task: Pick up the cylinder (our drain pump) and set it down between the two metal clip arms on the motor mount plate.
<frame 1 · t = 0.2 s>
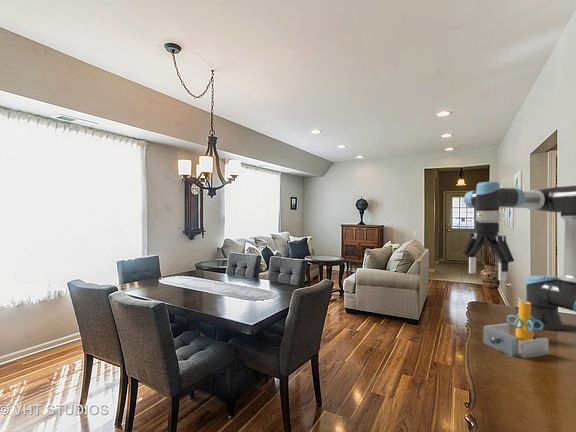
hand: (486, 276, 118), 28 cm above the table, fingers open, 13 cm apart
motor mount: (514, 347, 119), on the table
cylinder: (524, 338, 128), on the table
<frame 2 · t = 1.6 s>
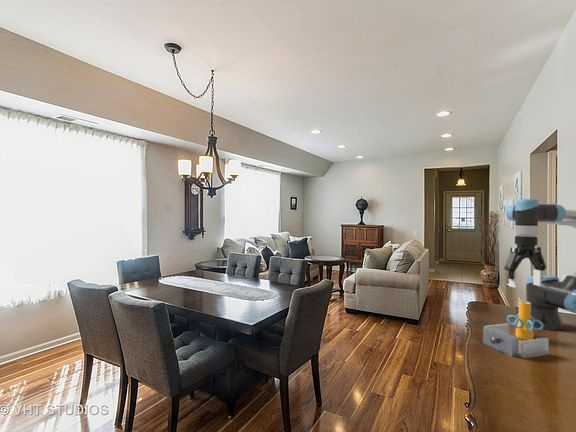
hand: (525, 286, 128), 22 cm above the table, fingers open, 13 cm apart
nothing on the table moved.
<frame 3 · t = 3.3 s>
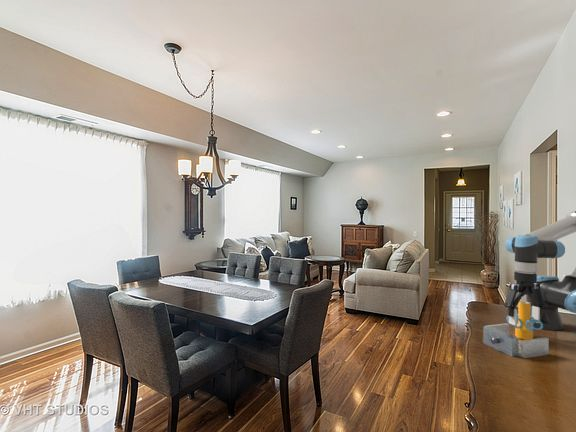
hand: (524, 323, 128), 6 cm above the table, fingers closed on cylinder, 12 cm apart
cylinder: (524, 338, 128), on the table, touching gripper
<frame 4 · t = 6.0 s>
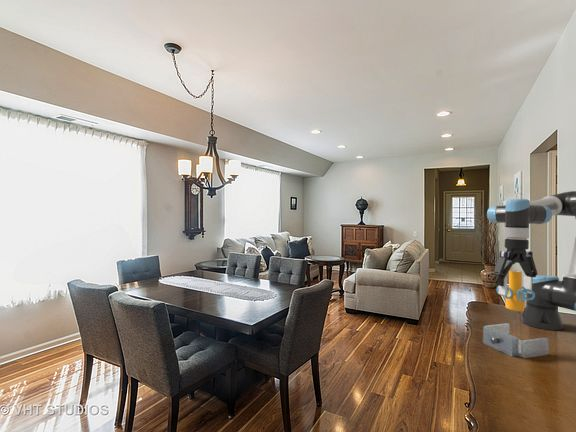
hand: (515, 293, 119), 21 cm above the table, fingers closed on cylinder, 12 cm apart
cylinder: (514, 309, 119), point 15 cm above the table, touching gripper
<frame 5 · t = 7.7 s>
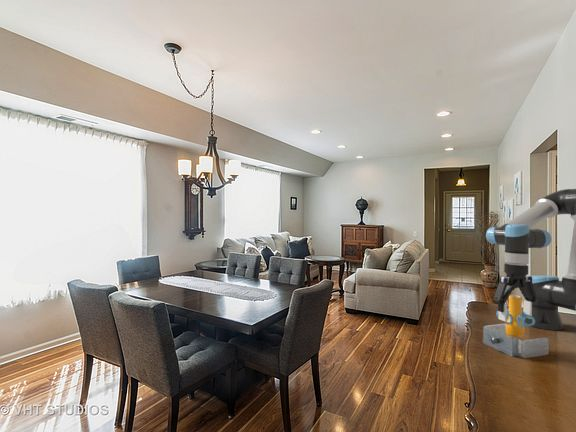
hand: (515, 318, 119), 11 cm above the table, fingers closed on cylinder, 12 cm apart
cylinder: (515, 334, 119), point 5 cm above the table, touching gripper
when the fingers open (9 cm above the table, at t = 8.9 s): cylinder drops 1 cm, resting on motor mount.
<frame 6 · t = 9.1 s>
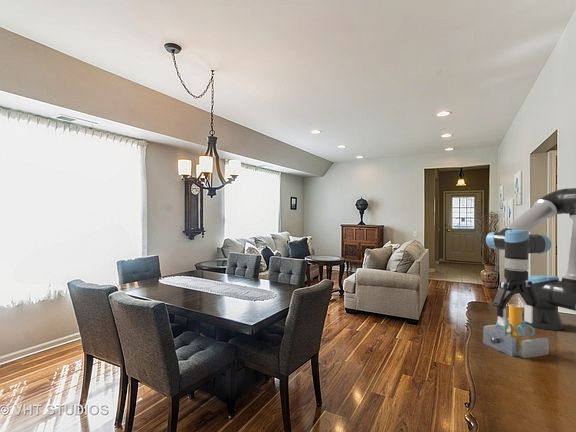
hand: (515, 323, 119), 9 cm above the table, fingers open, 13 cm apart
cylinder: (514, 344, 119), point 1 cm above the table, touching motor mount
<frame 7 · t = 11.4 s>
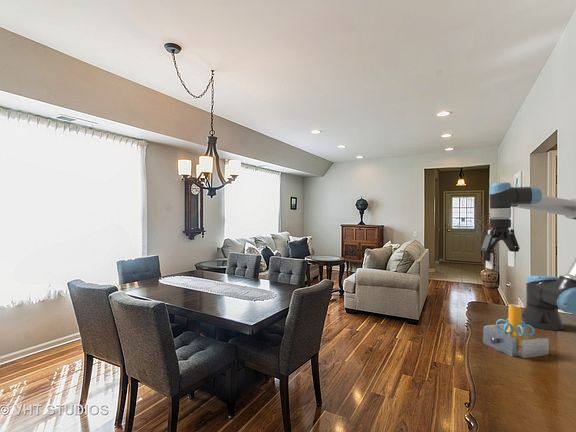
hand: (500, 267, 132), 29 cm above the table, fingers open, 13 cm apart
nothing on the table moved.
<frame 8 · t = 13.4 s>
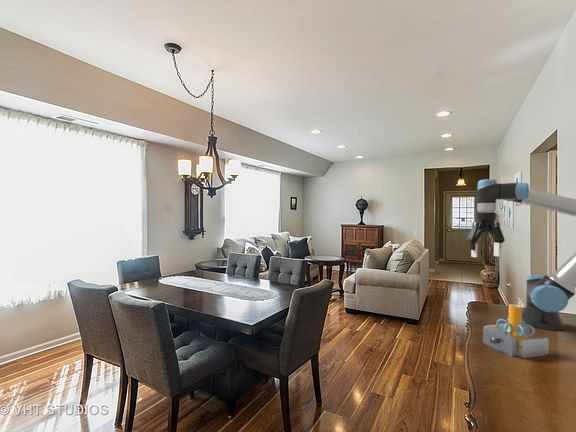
hand: (485, 256, 145), 32 cm above the table, fingers open, 13 cm apart
nothing on the table moved.
at the end: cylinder 0.1 cm off-centre on the motor mount, point 1.0 cm above the motor mount's base; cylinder tilted 0°; the gripper is holding nothing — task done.
